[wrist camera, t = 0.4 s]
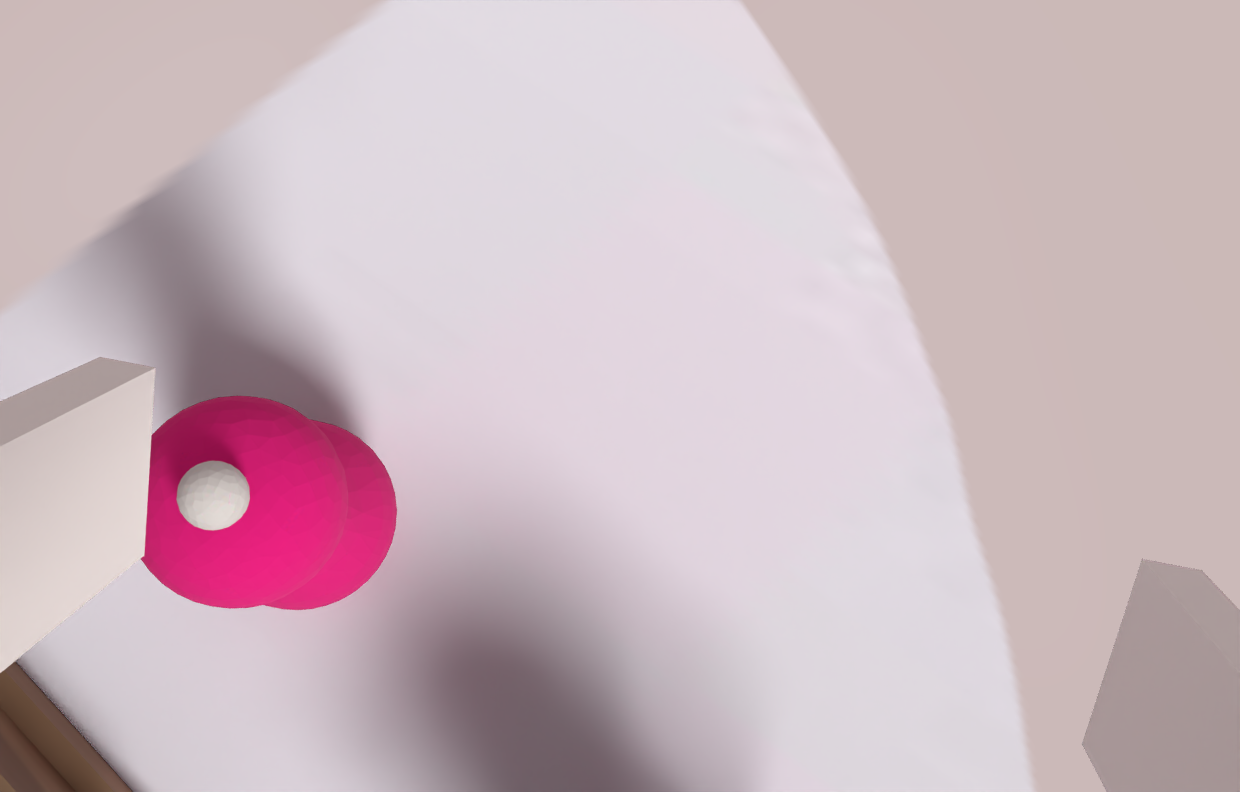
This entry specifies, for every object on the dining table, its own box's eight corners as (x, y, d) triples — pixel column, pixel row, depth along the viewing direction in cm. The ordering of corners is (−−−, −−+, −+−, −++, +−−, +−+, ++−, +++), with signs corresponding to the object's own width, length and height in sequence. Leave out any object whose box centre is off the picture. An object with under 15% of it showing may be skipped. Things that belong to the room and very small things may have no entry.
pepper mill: (192, 492, 48) (-6, 451, 28) (343, 398, 49) (255, 296, 30) (286, 639, 48) (153, 701, 28) (436, 541, 49) (409, 534, 29)
